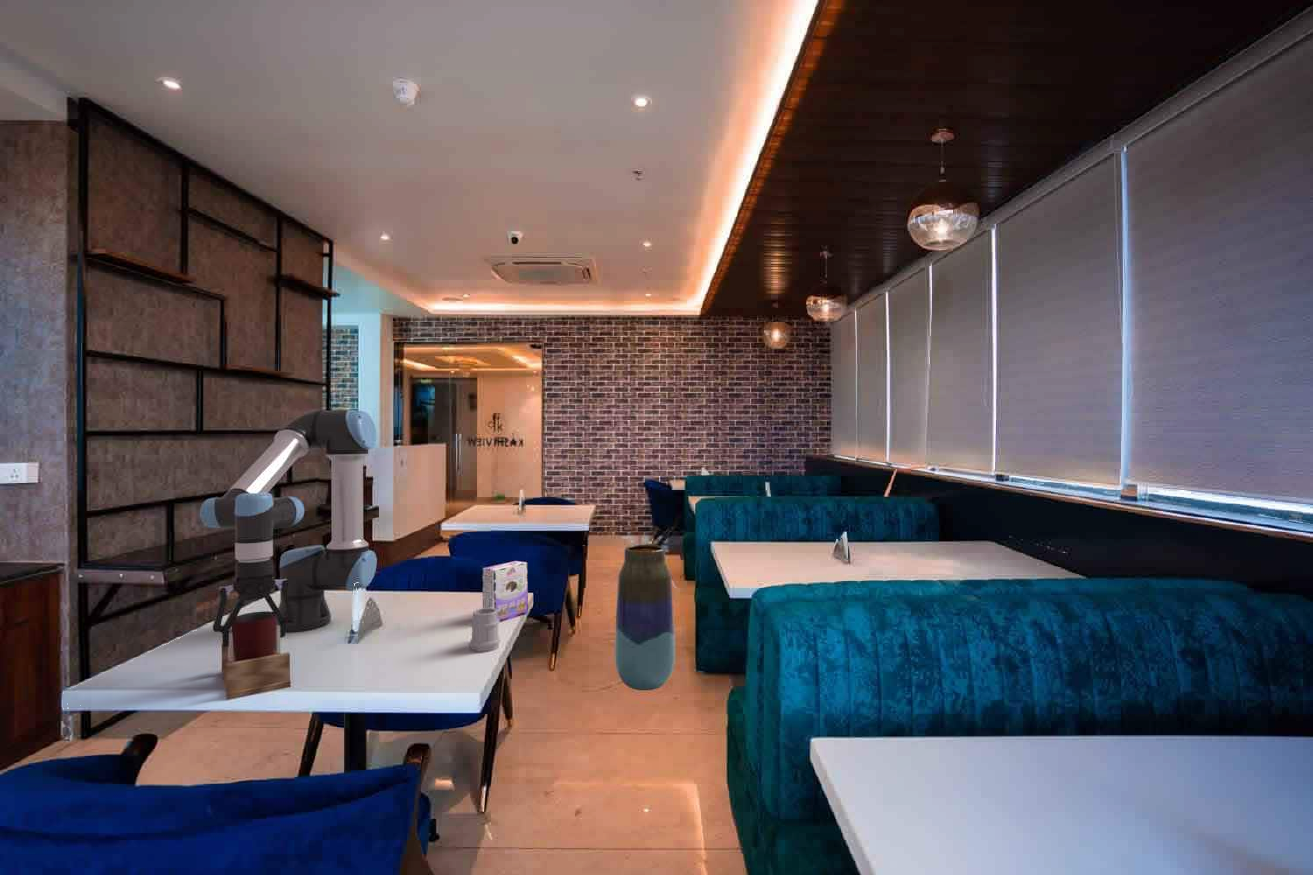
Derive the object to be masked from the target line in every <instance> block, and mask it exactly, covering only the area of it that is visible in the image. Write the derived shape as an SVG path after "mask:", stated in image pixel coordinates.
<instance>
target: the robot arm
mask: <svg viewBox="0 0 1313 875" xmlns="http://www.w3.org/2000/svg"><path fill="white" fill-rule="evenodd" d="M376 441H377V429H376V425H375V423H374V420H373V418H372V416H370V414H369V413H368V412H366V411H363V410H357V409H356V410H354V409H345V410H344V409H341V410H340V409H339V410H334V409H333V410H320V409H319V410H318V409H317V410H312V411H309V412H305V413H303V414H301V415H299V416H297V417H295V418H294V419H292V420H290V421H289V422H288V423H286V424H285V425H284V426H282V427H281V429H279V431H277V432H276V434H275V435H274V437H273V442H272V443H271V445H270V446H268V447H267V449H266V450H265V451H264V452H263V453H262V454H261V455H260V456H259V458H258V459H257V460H256V461H255V462H253V464H252V465H251V466H250V467H249V468H248V469H247V470H246V471H245V472H244V473H243V474H242V475H241V477H240V478H238V480H237V481H236V482H235V483H234V484H233V485H232V486H231V487H230V488H229V489H228V491H226V493H224V495H223V496H221V497H218V496H215V497H211V498H208V499H205V501H203V503H202V505H201V506H200V509H199V518H200V520H201V523H202V524H203V525H204V526H205V527H208V528H215V529H235V530H234V531H235V532H234V533H235V541H234V552H235V553H234V558H235V560H236V561H235V563H234V570H235V571H234V573H235V574H234V582H233V583H232V584H231V585H227V586H226V585H225V586H224V585H221V586H219V588H218V591H219V599H218V605H217V609H216V613H215V616H214V619H213V620H214V621H213V624H212V630H213V632H214V633H217V632H218V633H221V635H222V636H221V639H222V641H221V642H222V643H221V645H222V644H223V647H227V646H228V659H229V662H231V661H233V637H232V625H231V620H233V621H235V619H236V617H237V616H239V613H240V611H241V610H242V607H243V606H244V605H245V603H246V602H247V601H252V600H263V599H264V600H265V601H266V603H267V604H268V606H269V608H270V609H271V612H273V613H274V614H275V613H276V633H275V651H276V653H280V654H281V638H285V636H286V632H288V633H289V632H290V633H292V632H304V631H309V630H314V629H318V628H320V627H321V628H322V627H324V626H327V625H329V624H330V623H331V622H332V614H331V611H330V608H329V605H328V603H327V600H326V598H325V591H348V592H351V591H359V590H358V589H359V588H362V589H361V590H364V589H366V588H367V587H368V586H369V585H370V584H371V582H372V581H373V579H374V576H375V574H376V571H377V570H376V569H377V564H378V562H377V560H378V559H377V558H378V557H377V555H376V553H375V551H373V550H370V549H369V547H370V546H369V542H368V541H366V540H365V539H364V460H365V458H366V457H368V456H369V450H371V449H372V448H374V446H376ZM319 449H321V450H325V456H326V457H327V458H328V459H329V460H330V461H331V466H330V467H331V541H330V542H329V543H328V544H326V546H324V545H320V544H319V545H318V544H317V545H310V546H304V547H299V548H294V549H291V550H288V551H285V552H283V553H282V554H281V556H280V560H279V579H276V578H275V577H274V573H273V572H274V560H273V559H272V558H271V557H273V556H274V537H273V534H274V533H273V532H274V530H278V529H281V528H289V527H292V526H294V525H296V524H298V523H299V522H300V521H302V519H303V518H304V515H305V506H304V504H303V502H302V501H301V500H300V499H299V498H297V497H295V496H288V495H287V496H281V497H273V495H272V493H269V492H270V491H271V489H273V487H274V486H275V485H276V484H277V483H278V482H279V480H280V479H281V478H282V477H283V476H284V474H285V473H286V472H287V471H288V470H289V469H290V467H292V466H293V464H294V463H295V462H296V461H297V460H298V458H302V457H304V456H305V455H306V454H308V452H310V451H312V450H319ZM356 582H359V583H356ZM354 583H356V584H355V586H354ZM275 585H276V587H277V589H278V590H279V591H280V598H279V599H280V601H279V604H278V606H277V604H276V603H275V601H274V600H273V598H272V596H271V594H270V592H271V590H272V589H273V587H275ZM356 588H357V590H356ZM232 591H235V592H236V593H237V594H238V596H237V598H236V602H235V603H234V605H233V606H232V608H231V611H230V613H229V614H228V617H227V618H226V620H225V623H224V624H223V625H222V621H223V617H224V613H225V610H226V605H227V600H228V596H230V595H231V593H232Z"/></svg>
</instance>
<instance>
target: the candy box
mask: <svg viewBox="0 0 1313 875" xmlns="http://www.w3.org/2000/svg"><path fill="white" fill-rule="evenodd" d="M528 581H529V580H528V562H526V561H518V560H514V561H509V562H505V563H501V564H497V565H492V566H488V567H482V608H483V609H484V608H489V602H490V598H491V597H494V605H495V609H496V610H497V617H498V620H499V623H500V622H503V621H506V620H511V619H512V618H513V619H514V618H516V617H519V616H522V615H525V614H528V613H529V600H528V599H529V596H528V595H529V594H528V593H529V589H528V584H529V583H528Z"/></svg>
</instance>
